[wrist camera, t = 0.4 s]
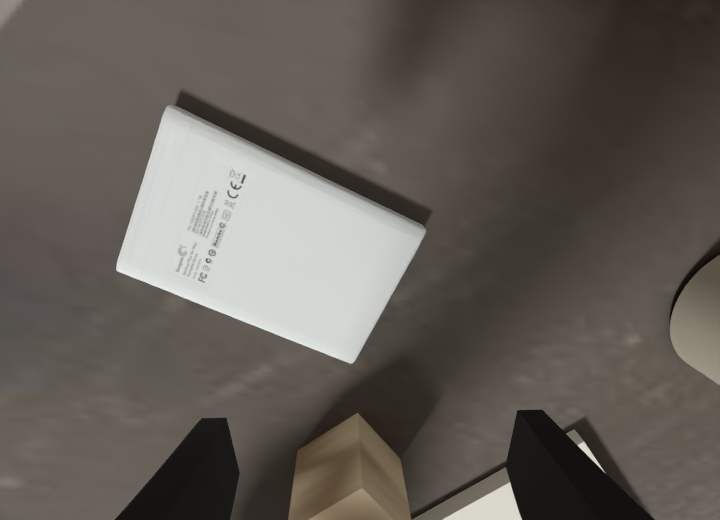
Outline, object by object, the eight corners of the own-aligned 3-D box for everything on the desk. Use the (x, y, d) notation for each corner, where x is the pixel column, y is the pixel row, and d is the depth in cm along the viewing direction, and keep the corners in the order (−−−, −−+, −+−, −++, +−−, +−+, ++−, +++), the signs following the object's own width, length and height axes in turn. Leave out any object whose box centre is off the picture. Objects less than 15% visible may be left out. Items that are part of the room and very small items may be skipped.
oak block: (342, 492, 24) (342, 580, 19) (297, 449, 23) (286, 532, 18) (400, 458, 24) (415, 540, 19) (357, 411, 22) (361, 487, 17)
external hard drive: (351, 350, 21) (129, 261, 19) (421, 222, 19) (180, 105, 17) (352, 367, 20) (111, 273, 18) (428, 230, 18) (164, 102, 15)
